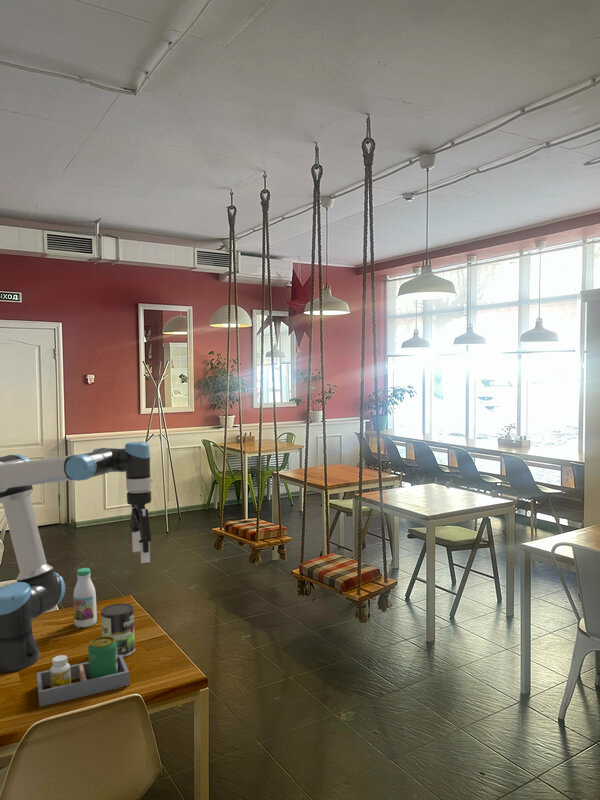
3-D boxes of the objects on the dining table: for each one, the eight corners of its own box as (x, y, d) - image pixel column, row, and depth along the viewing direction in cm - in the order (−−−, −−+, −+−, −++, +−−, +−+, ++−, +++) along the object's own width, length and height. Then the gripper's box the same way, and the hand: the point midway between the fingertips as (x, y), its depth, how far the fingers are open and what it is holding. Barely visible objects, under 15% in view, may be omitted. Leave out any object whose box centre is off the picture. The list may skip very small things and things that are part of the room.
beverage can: (120, 683, 178) (119, 643, 178) (92, 690, 174) (90, 649, 174) (115, 672, 185) (113, 633, 185) (87, 678, 182) (86, 638, 181)
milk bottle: (80, 619, 226) (78, 565, 226) (100, 619, 225) (98, 566, 225) (70, 627, 219) (68, 572, 218) (90, 628, 218) (88, 573, 217)
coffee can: (140, 645, 203) (139, 603, 202) (126, 659, 193) (124, 616, 192) (112, 643, 205) (110, 602, 205) (96, 657, 195) (94, 614, 194)
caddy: (37, 686, 178) (36, 672, 177) (122, 667, 188) (121, 654, 188) (39, 706, 166) (39, 692, 166) (129, 685, 177) (129, 672, 177)
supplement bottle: (75, 688, 176) (74, 655, 176) (61, 697, 171) (60, 663, 171) (60, 685, 178) (59, 652, 178) (46, 694, 173) (45, 660, 173)
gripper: (159, 496, 185) (161, 565, 186) (142, 483, 207) (144, 545, 208) (134, 498, 182) (136, 569, 183) (120, 485, 204) (122, 548, 205)
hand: (141, 556), depth 195 cm, fingers open, 13 cm apart
